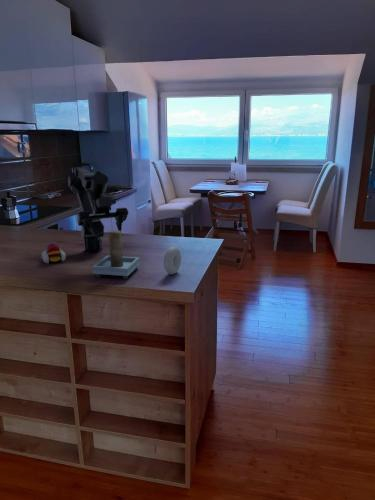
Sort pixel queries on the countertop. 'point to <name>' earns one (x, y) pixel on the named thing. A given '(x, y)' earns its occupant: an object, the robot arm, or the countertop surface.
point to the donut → (172, 260)
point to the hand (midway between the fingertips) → (108, 235)
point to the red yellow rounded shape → (53, 253)
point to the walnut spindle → (116, 248)
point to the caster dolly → (125, 270)
